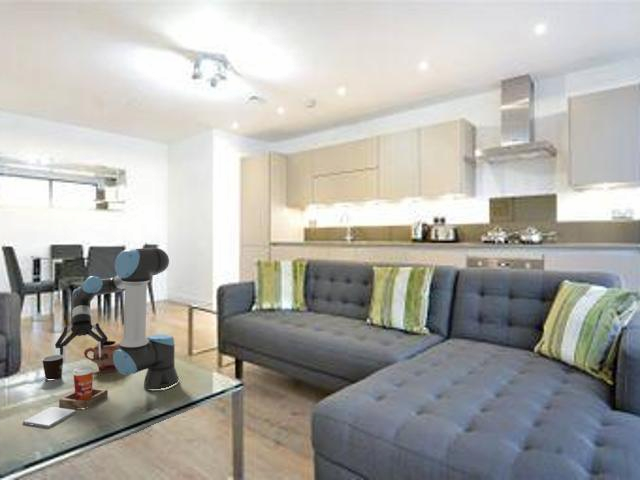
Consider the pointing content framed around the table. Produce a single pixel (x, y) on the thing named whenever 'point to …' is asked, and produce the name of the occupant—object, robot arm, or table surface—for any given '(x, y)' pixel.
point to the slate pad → (49, 417)
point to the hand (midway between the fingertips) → (82, 358)
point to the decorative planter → (104, 355)
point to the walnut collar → (72, 403)
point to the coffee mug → (53, 366)
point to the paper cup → (83, 382)
